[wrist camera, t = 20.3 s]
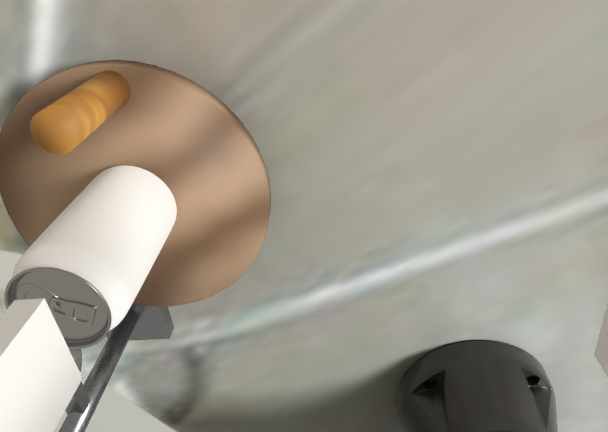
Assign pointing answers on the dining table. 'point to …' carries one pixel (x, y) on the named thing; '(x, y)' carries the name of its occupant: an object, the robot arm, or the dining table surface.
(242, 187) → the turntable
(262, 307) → the dining table surface
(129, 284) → the can
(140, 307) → the dial indicator stand
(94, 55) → the dining table surface
